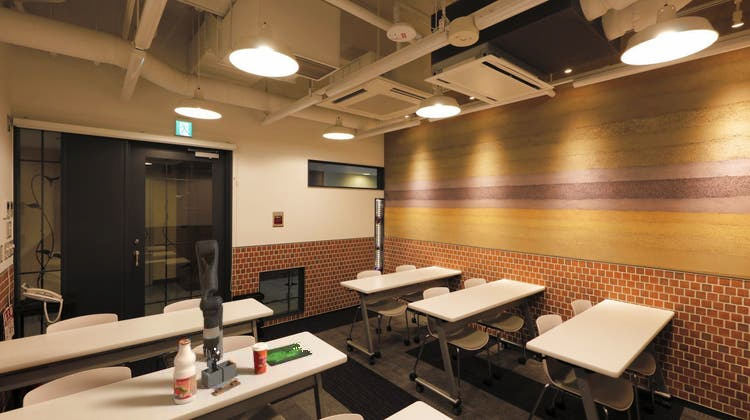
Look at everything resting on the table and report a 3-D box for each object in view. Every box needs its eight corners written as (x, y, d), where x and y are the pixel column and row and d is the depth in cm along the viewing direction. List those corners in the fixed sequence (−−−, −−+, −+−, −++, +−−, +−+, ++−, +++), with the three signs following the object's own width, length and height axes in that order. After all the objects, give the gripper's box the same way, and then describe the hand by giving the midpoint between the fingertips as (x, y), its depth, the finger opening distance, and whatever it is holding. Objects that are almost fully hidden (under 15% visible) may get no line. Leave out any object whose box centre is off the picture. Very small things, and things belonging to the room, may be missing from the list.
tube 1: (201, 384, 167) (201, 370, 167) (215, 378, 173) (214, 365, 173) (208, 389, 163) (208, 375, 163) (222, 382, 169) (222, 369, 169)
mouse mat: (300, 342, 219) (300, 340, 219) (314, 354, 202) (314, 352, 201) (259, 353, 203) (259, 351, 203) (270, 367, 185) (270, 365, 185)
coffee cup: (263, 376, 175) (262, 348, 175) (249, 374, 177) (249, 347, 177) (271, 368, 183) (270, 342, 183) (257, 367, 185) (257, 341, 185)
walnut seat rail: (212, 393, 159) (212, 390, 159) (237, 382, 169) (237, 378, 169) (215, 396, 157) (215, 392, 157) (240, 384, 168) (240, 380, 168)
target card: (212, 387, 164) (211, 387, 164) (234, 377, 174) (234, 377, 174) (216, 390, 162) (216, 389, 162) (238, 379, 172) (238, 379, 172)
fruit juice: (199, 398, 155) (199, 340, 155) (178, 407, 148) (177, 347, 148) (192, 390, 161) (191, 335, 161) (171, 399, 154) (170, 341, 154)
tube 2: (216, 377, 174) (216, 364, 174) (229, 372, 180) (229, 359, 180) (223, 382, 170) (223, 368, 169) (236, 376, 175) (236, 363, 175)
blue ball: (205, 367, 167) (205, 359, 167) (213, 364, 171) (213, 356, 171) (209, 370, 165) (209, 361, 165) (217, 366, 168) (217, 358, 168)
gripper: (197, 334, 169) (197, 366, 169) (211, 341, 160) (211, 375, 161) (211, 329, 175) (211, 361, 175) (225, 336, 167) (226, 368, 167)
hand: (211, 367), depth 168 cm, fingers open, 4 cm apart
